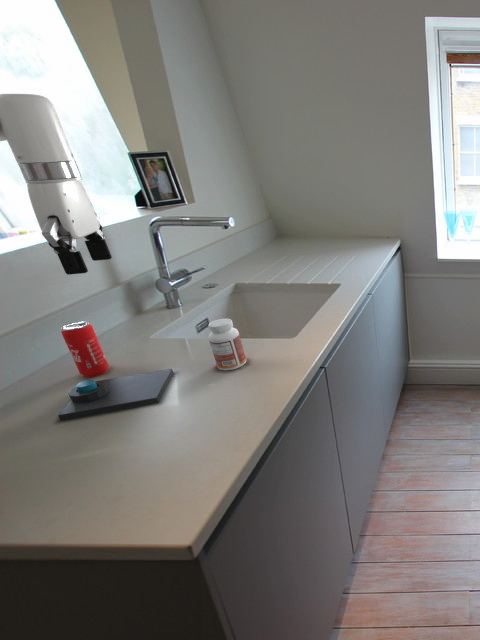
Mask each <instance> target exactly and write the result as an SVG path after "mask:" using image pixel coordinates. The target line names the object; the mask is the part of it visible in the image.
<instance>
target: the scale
mask: <svg viewBox="0 0 480 640" xmlns="http://www.w3.org/2000/svg"><path fill="white" fill-rule="evenodd" d="M174 374H175V373H174V369H173V368H167V369H162V370H156V371H149V372H143V373H137V374H132V375H131V374H130V375H125V376H119V377H113V378H106V379H100V380H95V382H96V384H97V387H98V388H96V389H94V390H92V391H89V392H85V393H79V392H78V390H77V388H76V386H75V387H73V388H72V389H70V390H69V391H68V393H67V394H68V396H69V398H70V401H69V402H68V403H67V404H66V405H65V406H64V408H62V410H61V411H60V412H59V413H58V418H59V420H60V422H61V421H62V422H63V421H67V420H68V421H69V420H75V419H79V418H85V417H89V416H96V415H100V414H105V413H112V412H117V411H122V410H128V409H134V408H139V407H144V406H151V405H156V404H159V403H160V400H161V399H162V398H163V395H164V394H165V391H166V390H167V387H169V384H170V382H171V380H172V378H173V376H174Z"/></svg>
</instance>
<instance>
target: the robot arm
mask: <svg viewBox="0 0 480 640" xmlns="http://www.w3.org/2000/svg"><path fill="white" fill-rule="evenodd" d="M5 141H6V142H7V143H8V146H9V148H10V150H11V152H12V154H13V157H14V159H15V161H16V163H17V166H18V168H19V170H20V173H21V175H22V177H23V179H24V181H25V184H26V188H27V192H28V197H29V200H30V203H31V207H32V210H33V212H34V215H35V217H36V221H37V223H38V225H39V228H40V230H41V235H42V237H43V238H44V239H45V241H46V242H47V243H48V245H49V247H51V249H53V250H52V251H53V252H54V253H55V254H56V255H57V257H58V259H59V261H60V264H61V266H62V268H63V270H64V273H65V274H66V275H67V276H69V275H81V274H87V273H88V272H89V270H88V267H87V265H86V262H85V260H84V257H83V255H82V253H81V251H80V250H77V240H79V239H82V238H84V239H86V240H84V243H85V246H86V248H87V251H88V254H89V256H90V258H91V260H92V261H94V262H95V261H96V262H97V261H107V260H111V259H112V258H113V256H112V253H111V251H110V249H109V246H108V244H107V241H106V236H105V233H104V232H103V225H101V218H100V215H99V214H98V213H96V210H95V208H94V206H93V203H92V201H91V199H90V196H89V195H88V193H87V191H86V189H85V187H84V185H83V183H82V182H81V181H82V180H83V177H82V174H81V172H80V169H79V166H78V164H77V161H76V160H75V156H74V154H73V151H72V148H71V147H70V143H69V141H68V139H67V136H66V134H65V131H64V128H63V126H62V123H61V120H60V118H59V115H58V113H57V111H56V108H55V106H54V104H53V102H52V101H51V100H50V99H49V98H48V97H45V96H44V95H41V94H33V93H32V94H31V93H0V142H5Z"/></svg>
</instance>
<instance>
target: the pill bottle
mask: <svg viewBox="0 0 480 640" xmlns="http://www.w3.org/2000/svg"><path fill="white" fill-rule="evenodd" d="M208 329H209V334H208V336H207V338H208V339H207V340H208V342H209V345H210V349H211V353H212V355H213V358H214V362H215V364H216V367H217V368H218V369H219V370H221V371H233V370H236V369H239V368H241V367H243V366H244V365H245V364H246V363H247V356H246V353H245V349H244V345H243V343H242V339H241V335H240V331H239V330H238V329H237V328H235V327H234V323H233V320H232V319H231V318H219V319H214V320H212V321H210V322H209V323H208Z"/></svg>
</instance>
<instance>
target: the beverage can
mask: <svg viewBox="0 0 480 640" xmlns="http://www.w3.org/2000/svg"><path fill="white" fill-rule="evenodd" d="M60 330H61V332H60V334H61V336H62V338H63V340H64V342H65V344H66V346H67V348H68V352H69V353H70V355H71V358H72V359H73V362H74V364H75V366H76V368H77V371H78V373H79V374H80V375H81V376H83V377H84V378H94V377H98V376H102V375H103V374H106V373H107V372H109V363H108V360H107V358H106V356H105V353H104V351H103V348H102V346H101V344H100V342H99V339H98V337H97V334H96V331H95V329H94V326H93V325H92V324H90V322H89V321H85V320H84V321H75V322H72V323H67V324H65V325H64V326H62V327H61V329H60Z"/></svg>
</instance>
